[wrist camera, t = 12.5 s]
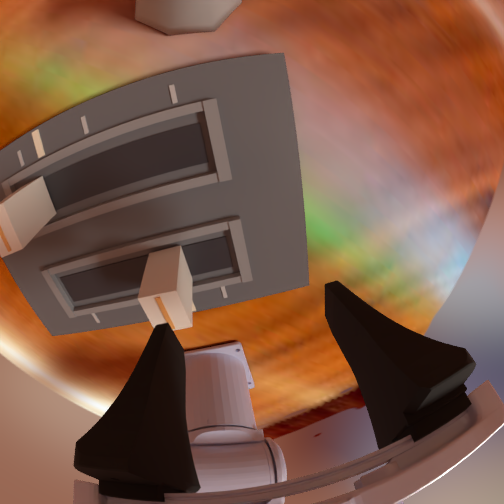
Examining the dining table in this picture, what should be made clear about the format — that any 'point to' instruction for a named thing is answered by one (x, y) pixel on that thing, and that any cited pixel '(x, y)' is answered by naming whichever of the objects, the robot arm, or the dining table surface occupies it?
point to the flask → (184, 14)
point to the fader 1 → (24, 215)
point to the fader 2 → (167, 289)
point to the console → (164, 193)
